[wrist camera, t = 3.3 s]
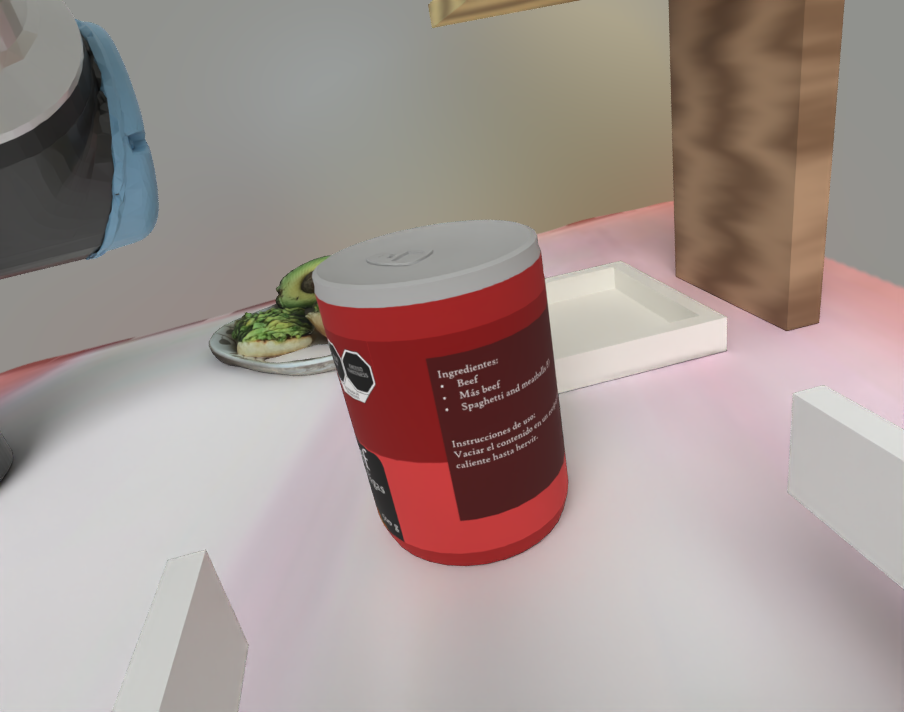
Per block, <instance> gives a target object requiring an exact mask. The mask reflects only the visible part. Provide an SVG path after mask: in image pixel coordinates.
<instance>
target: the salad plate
mask: <svg viewBox="0 0 904 712" xmlns="http://www.w3.org/2000/svg"><path fill="white" fill-rule="evenodd" d="M328 257H330V256H324V257H320V258H317V259H314V260H311V261H309V262H307V263H305V264H302V265H300V266H299V267H297V268H296V269H294V270H292V271H291V272H290V273H288V274H287V275H286V276H285V277H283V279H282V280H281V282H280V285H279V286H278V287H277V288H276V291H277V292H278V294H279V295H278V296H277V298H276V304H275V305H273V306H271V307H268V308H266V309H262V310H260V311H258V312H255V313H253V314H251V313H247V312H246V313H245V315H243V316H242V318H239V319H237V320H235V321H233V322H230V323H228V324H226V325H224V326H223V327H221V328H220V329H219V330H217V331H216V332H215V333H214V334H213V336H212V337H211V339H210V341H209V347H210V349H211V351H212V353H213V354H214V355H215V356H216V358H217V359H219V360H220V361H221V362H223V363H225V364H227V365H232V366H238V367H244V368H247V369H251V370H255V371H260V372H266V373H275V374H286V375H312V374H318V373H324V372H329V371H333V370H336V367H335V364H334V360H333V357H332V355H329V356H324V357H319V358H312V359H305V360H296V361H291V362H283V363H269V362H265V361H264V360H266V359H269V358H273V357H278V356H281V355H284V354H288V353H291V352H294V351H297V350H300V349H303V348H306V347H310V346H313V345H317V344H329V343H328V340H327V336H326V333H325V330H324V326H323V323H322V318H321V314H320V310H319V307H318V303H317V300H316V296H315V286H314V282H313V279H312V274H313V271H314V269H315V268H316V267H317V266H318V265H319V264H320V263H322V262H323V261H324V260H326V259H327V258H328Z"/></svg>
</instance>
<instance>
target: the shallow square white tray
mask: <svg viewBox="0 0 904 712" xmlns="http://www.w3.org/2000/svg"><path fill="white" fill-rule="evenodd" d="M545 284H546V292H547V301H548V310H549V318H550V327H551V336H552V345H553V353H554V362H555V371H556V379H557V388H558V393H562V392H566V391H570V390H574V389H578V388H582V387H586V386H590V385H594V384H598V383H602V382H606V381H610V380H613V379H617V378H621V377H625V376H629V375H633V374H637V373H641V372H645V371H649V370H653V369H657V368H661V367H665V366H669V365H673V364H677V363H680V362H684V361H688V360H692V359H696V358H700V357H704V356H708V355H712V354H716V353H720V352H724V351H727V317H726V316H724V315H722V314H720V313H718V312H716V311H714V310H713V309H711V308H709V307H707V306H705V305H703V304H701V303H699V302H697V301H696V300H694V299H692V298H690V297H688V296H686V295H684V294H682V293H681V292H679V291H677V290H675V289H673V288H671V287H669V286H667V285H665V284H664V283H662V282H660V281H658V280H656V279H654V278H652V277H650V276H649V275H647V274H645V273H643V272H641V271H639V270H637V269H635V268H633V267H632V266H630V265H628V264H626V263H624V262H622V261H618V262H614V263H609V264H605V265H601V266H596V267H592V268H588V269H584V270H579V271H575V272H571V273H567V274H562V275H558V276H554V277H549V278H545Z"/></svg>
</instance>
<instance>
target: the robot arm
mask: <svg viewBox="0 0 904 712" xmlns="http://www.w3.org/2000/svg"><path fill="white" fill-rule="evenodd" d="M158 208H159V202H158V189H157V182H156V175H155V169H154V165H153V160H152V156H151V151H150V149H149V146H148V145H147V142H146V140H145V131H144V125H143V120H142V115H141V112H140V108H139V105H138V102H137V99H136V95H135V93H134V90H133V87H132V84H131V81H130V78H129V75H128V73H127V70H126V68H125V65H124V63H123V61H122V59H121V56H120V54H119V52H118V50H117V48H116V46H115V44H114V43H113V40H112V39H111V37H110V36H109V34H108V33H107V32H106V31H105V30H104V29H103V28H102V27H100V26H99V25H97V24H94V23H91V22H81V21H79V20H76V19H74V17H73V15H72V13H71V11H70V10H69V9H68V7H67V6H66V4H65V3H64V2H63V0H0V279H4V278H8V277H12V276H17V275H21V274H25V273H29V272H33V271H37V270H41V269H45V268H50V267H54V266H58V265H62V264H66V263H70V262H74V261H78V260H82V259H87V260H89V259H94V258H98V257H99V256H102V255H103V254H105V253H106V252H107V251H109V250H113V249H116V248H119V247H122V246H125V245H128V244H132V243H135V242H138V241H140V240H142V239H144V238H145V237H146V236H148V235H149V233H151V231H152V230H153V228H154V227H155V224H156V221H157V217H158V211H159V209H158ZM12 460H13V453H12V450H11V449H10V447H9V445H8V443H7V442H6V440H5V438H4V436H3V435H2V433H1V431H0V481H1V480H2V479H3V477H4V476H5V475H6V473H7V472H8V470H9V468H10V466H11V464H12ZM787 492H788V493H789V494H790V495H791V496H793V497H794V498H795V499H796V500H797V501H799V502H800V503H801V504H802V505H803V506H805V507H806V508H807V509H808V510H809V511H811V512H812V513H813V514H814V515H815V516H817V517H818V518H819V519H820V520H821V521H822V522H824V523H825V524H826V525H827V526H828V527H830V528H831V529H832V530H833V531H834V532H836V533H837V534H838V535H839V536H840V537H842V538H843V539H844V540H845V541H846V542H848V543H849V544H850V545H851V546H852V547H854V548H855V549H856V550H857V551H858V552H860V553H861V554H862V555H863V556H864V557H866V558H867V559H868V560H869V561H870V562H872V563H873V564H874V565H875V566H876V567H877V568H879V569H880V570H881V571H882V572H883V573H885V574H886V575H887V576H888V577H889V578H891V579H892V580H893V581H894V582H895V583H897V584H898V585H899V586H900V587H901V588H903V589H904V429H902V428H900V427H898V426H896V425H895V424H893V423H891V422H889V421H887V420H886V419H884V418H882V417H880V416H878V415H877V414H875V413H873V412H871V411H869V410H868V409H866V408H864V407H862V406H860V405H859V404H857V403H855V402H853V401H852V400H850V399H848V398H846V397H844V396H843V395H841V394H839V393H837V392H835V391H834V390H832V389H830V388H828V387H826V386H825V385H822V386H818V387H815V388H811V389H807V390H803V391H800V392H796V393H793V399H792V417H791V436H790V454H789V472H788V490H787ZM248 646H249V644H248V642H247V640H246V638H245V636H244V633H243V631H242V629H241V627H240V624H239V622H238V620H237V618H236V616H235V613H234V611H233V609H232V607H231V604H230V602H229V600H228V598H227V596H226V593H225V591H224V589H223V587H222V584H221V582H220V580H219V578H218V576H217V573H216V571H215V569H214V567H213V565H212V562H211V560H210V558H209V556H208V553H207V551H206V550H203V551H199V552H195V553H192V554H188V555H184V556H180V557H177V558H173V559H169V560H168V561H167V564H166V566H165V569H164V572H163V574H162V577H161V580H160V582H159V585H158V588H157V591H156V593H155V596H154V599H153V601H152V604H151V607H150V610H149V612H148V615H147V618H146V620H145V623H144V626H143V629H142V631H141V634H140V637H139V639H138V642H137V645H136V647H135V650H134V653H133V656H132V658H131V661H130V664H129V666H128V669H127V672H126V675H125V677H124V680H123V683H122V685H121V688H120V691H119V693H118V696H117V699H116V702H115V704H114V707H113V710H112V712H238V709H239V703H240V697H241V690H242V684H243V678H244V671H245V665H246V659H247V652H248Z"/></svg>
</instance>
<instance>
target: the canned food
mask: <svg viewBox="0 0 904 712" xmlns="http://www.w3.org/2000/svg"><path fill="white" fill-rule="evenodd" d="M312 279H313V282H314V286H315V296H316V300H317V303H318V307H319V310H320V314H321V318H322V323H323V326H324V330H325V333H326V336H327V340H328V343H329V347H330V350H331V353H332V357H333V360H334V364H335V367H336V370H337V374H338V377H339V381H340V384H341V387H342V391H343V394H344V398H345V401H346V404H347V408H348V411H349V415H350V418H351V421H352V425H353V428H354V432H355V435H356V438H357V442H358V445H359V449H360V452H361V455H362V459H363V462H364V466H365V469H366V472H367V476H368V479H369V483H370V486H371V489H372V493H373V496H374V500H375V503H376V506H377V510H378V513H379V516H380V518H381V520H382V522H383V524H384V526H385V527H386V528H387V530H388V531H389V532H390V534H391V535H392V536H393V538H394V539H395V540H396V541H397V542H398V543H399V544H400V546H401V547H402V548H404V549H405V550H407V551H408V552H410V553H411V554H413V555H415V556H417V557H420V558H422V559H425V560H427V561H430V562H435V563H440V564H445V565H459V566H469V565H480V564H487V563H492V562H496V561H500V560H504V559H507V558H509V557H512V556H514V555H517V554H519V553H522V552H524V551H525V550H527V549H529V548H530V547H532V546H534V545H535V544H537V543H538V542H540V541H541V540H542V539H543V538H544V537H545V536H546V535H548V534H549V533H550V532H551V530H552V529H553V528H554V526H555V525H556V524H557V522H558V521H559V518H560V516H561V513H562V511H563V508H564V504H565V500H566V496H567V491H568V475H567V466H566V458H565V449H564V440H563V432H562V423H561V414H560V405H559V397H558V388H557V379H556V371H555V362H554V353H553V345H552V336H551V327H550V318H549V310H548V301H547V292H546V284H545V278H544V273H543V264H542V256H541V250H540V248H539V245H538V239H537V234H536V232H535V230H534V229H532V228H530V227H529V226H526V225H523V224H519V223H516V222H510V221H502V220H469V221H457V222H449V223H440V224H434V225H428V226H422V227H416V228H412V229H407V230H402V231H398V232H394V233H390V234H387V235H383V236H380V237H376V238H373V239H369V240H366V241H364V242H361V243H358V244H355V245H352V246H350V247H348V248H345V249H343V250H341V251H339V252H337V253H335V254H333V255H331V256H330V257H328V258H327V259H326V260H324V261H323V262H322V263H320V264H319V265H318V266H317V267H316V268H315V269H314V271H313V274H312Z"/></svg>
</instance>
